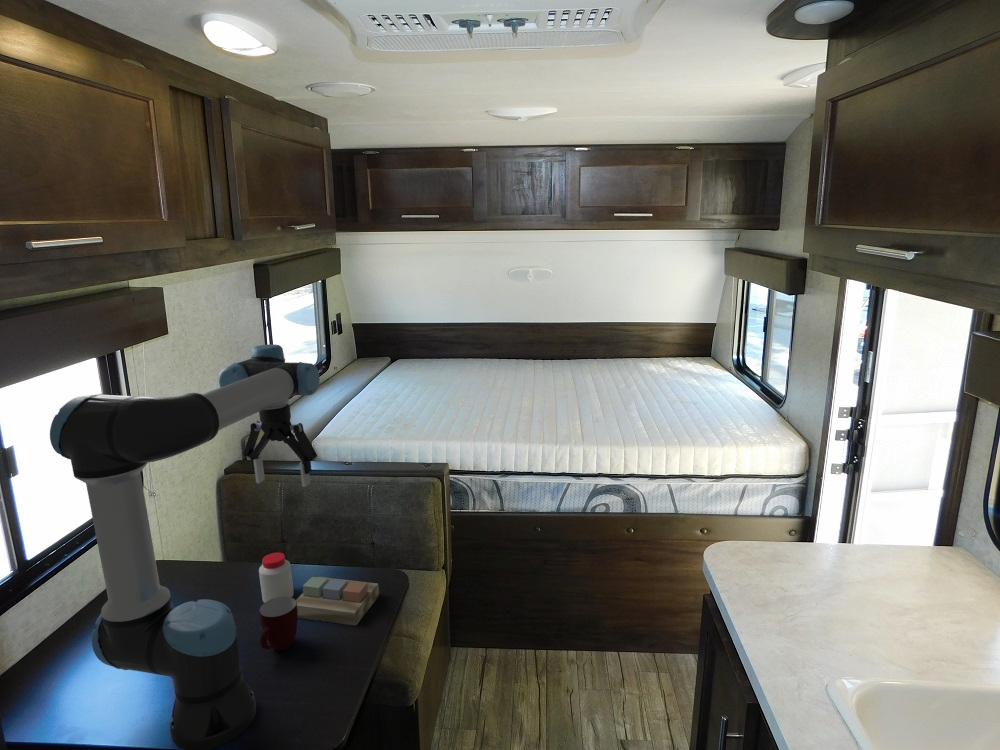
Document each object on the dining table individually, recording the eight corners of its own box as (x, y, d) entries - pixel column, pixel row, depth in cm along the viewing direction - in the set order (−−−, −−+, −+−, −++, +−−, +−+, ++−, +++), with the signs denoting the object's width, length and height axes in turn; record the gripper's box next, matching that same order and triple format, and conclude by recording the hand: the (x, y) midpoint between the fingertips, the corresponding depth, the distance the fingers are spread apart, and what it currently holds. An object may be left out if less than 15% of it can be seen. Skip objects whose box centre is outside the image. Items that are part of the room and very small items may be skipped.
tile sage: (319, 598, 157) (318, 587, 157) (303, 596, 158) (302, 586, 158) (328, 589, 161) (327, 578, 161) (313, 587, 163) (312, 576, 162)
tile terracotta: (360, 603, 155) (359, 592, 154) (343, 601, 156) (342, 590, 155) (368, 593, 159) (367, 583, 158) (352, 591, 160) (351, 581, 159)
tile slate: (339, 601, 156) (338, 590, 155) (323, 599, 157) (322, 588, 156) (348, 591, 160) (347, 580, 159) (332, 589, 161) (331, 578, 160)
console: (355, 625, 151) (354, 612, 150) (292, 617, 155) (291, 604, 154) (379, 595, 163) (378, 583, 162) (320, 588, 167) (318, 576, 167)
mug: (285, 665, 138) (280, 625, 135) (251, 663, 139) (245, 622, 137) (307, 635, 148) (302, 597, 146) (275, 633, 149) (270, 595, 147)
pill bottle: (261, 592, 166) (256, 554, 164) (291, 585, 170) (287, 547, 167) (263, 607, 160) (258, 568, 157) (295, 599, 163) (291, 560, 160)
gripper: (325, 403, 162) (333, 480, 166) (241, 399, 168) (250, 474, 173) (309, 411, 155) (318, 492, 159) (222, 407, 161) (233, 485, 166)
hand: (283, 483), depth 166 cm, fingers open, 13 cm apart
